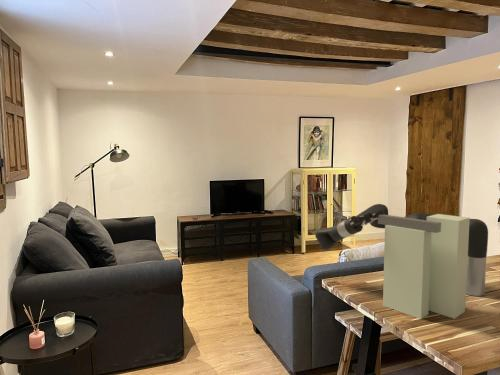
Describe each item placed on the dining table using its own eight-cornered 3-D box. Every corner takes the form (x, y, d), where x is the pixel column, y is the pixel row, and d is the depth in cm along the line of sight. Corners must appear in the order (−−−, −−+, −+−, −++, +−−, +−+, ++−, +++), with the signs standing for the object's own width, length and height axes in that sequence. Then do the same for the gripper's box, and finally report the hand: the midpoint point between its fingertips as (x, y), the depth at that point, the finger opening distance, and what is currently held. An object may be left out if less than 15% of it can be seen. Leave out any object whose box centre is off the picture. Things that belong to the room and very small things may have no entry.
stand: (434, 302, 156) (438, 213, 152) (465, 311, 147) (469, 217, 143) (423, 308, 150) (426, 216, 146) (454, 318, 141) (458, 220, 137)
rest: (390, 302, 157) (392, 223, 153) (428, 314, 144) (431, 229, 141) (382, 305, 153) (385, 225, 150) (420, 319, 140) (424, 231, 137)
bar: (382, 222, 156) (382, 214, 155) (440, 231, 137) (441, 222, 137) (377, 223, 154) (378, 215, 153) (436, 233, 135) (436, 223, 135)
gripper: (336, 221, 164) (364, 206, 152) (355, 217, 173) (383, 203, 161) (343, 237, 161) (372, 223, 150) (362, 232, 170) (390, 219, 159)
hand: (377, 213), depth 155 cm, fingers open, 8 cm apart
